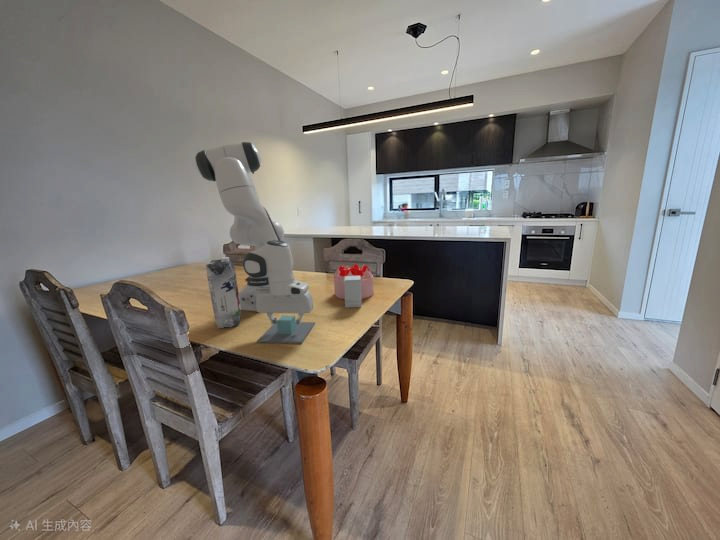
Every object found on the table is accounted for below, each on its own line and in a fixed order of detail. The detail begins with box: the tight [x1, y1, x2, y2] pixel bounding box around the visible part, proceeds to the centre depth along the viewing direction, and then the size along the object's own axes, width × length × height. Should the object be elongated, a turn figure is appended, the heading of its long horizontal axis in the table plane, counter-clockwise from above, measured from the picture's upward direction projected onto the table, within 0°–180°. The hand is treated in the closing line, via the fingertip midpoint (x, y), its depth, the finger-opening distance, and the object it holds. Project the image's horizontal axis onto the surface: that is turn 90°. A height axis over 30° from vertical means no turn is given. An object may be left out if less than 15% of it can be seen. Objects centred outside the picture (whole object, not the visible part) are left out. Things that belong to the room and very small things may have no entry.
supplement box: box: [344, 276, 363, 308], centre depth 128 cm, size 7×7×13 cm
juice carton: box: [205, 256, 242, 329], centre depth 112 cm, size 9×10×27 cm
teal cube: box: [277, 315, 297, 334], centre depth 104 cm, size 5×5×5 cm
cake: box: [333, 263, 375, 301], centre depth 143 cm, size 20×20×14 cm
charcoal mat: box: [256, 321, 316, 345], centre depth 104 cm, size 16×16×1 cm
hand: (286, 323), depth 103 cm, fingers open, 8 cm apart
